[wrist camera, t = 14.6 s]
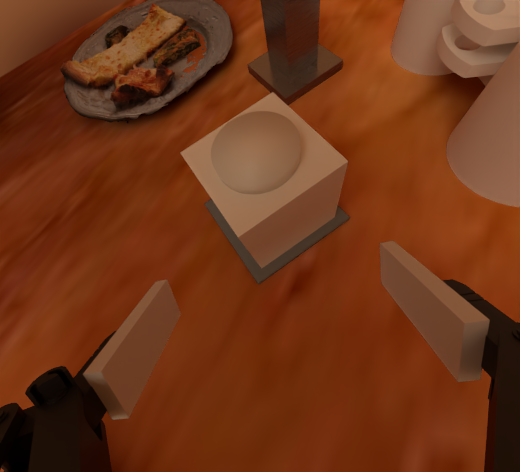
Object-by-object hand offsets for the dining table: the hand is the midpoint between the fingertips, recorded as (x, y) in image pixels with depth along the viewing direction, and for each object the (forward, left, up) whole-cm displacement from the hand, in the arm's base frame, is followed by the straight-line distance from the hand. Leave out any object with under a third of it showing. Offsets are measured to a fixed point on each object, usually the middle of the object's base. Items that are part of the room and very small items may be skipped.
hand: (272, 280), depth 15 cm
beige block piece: (-7, +4, -6) cm, 10 cm away
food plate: (-38, +4, -7) cm, 39 cm away
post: (-21, +17, -6) cm, 28 cm away
